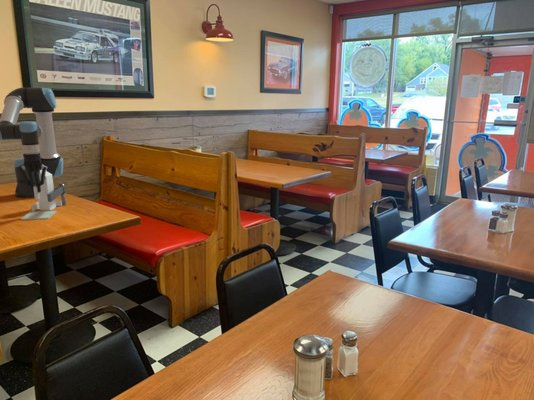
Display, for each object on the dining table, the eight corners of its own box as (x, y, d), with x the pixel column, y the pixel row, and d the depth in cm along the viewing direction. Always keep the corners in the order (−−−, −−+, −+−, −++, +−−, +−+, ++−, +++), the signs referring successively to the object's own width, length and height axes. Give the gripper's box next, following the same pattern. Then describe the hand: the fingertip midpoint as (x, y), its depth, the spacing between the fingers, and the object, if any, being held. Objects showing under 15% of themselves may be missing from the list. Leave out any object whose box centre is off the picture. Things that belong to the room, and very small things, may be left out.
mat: (30, 212, 218) (30, 211, 218) (56, 211, 220) (56, 210, 220) (20, 219, 206) (20, 218, 206) (48, 218, 208) (48, 217, 208)
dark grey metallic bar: (60, 192, 233) (59, 183, 232) (65, 192, 234) (64, 183, 233) (47, 202, 211) (45, 193, 210) (52, 202, 212) (51, 193, 210)
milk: (39, 210, 223) (33, 170, 217) (45, 207, 228) (40, 168, 223) (50, 210, 222) (45, 170, 217) (56, 207, 228) (51, 168, 223)
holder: (40, 205, 233) (39, 193, 231) (66, 204, 235) (65, 192, 233) (32, 211, 220) (30, 199, 218) (58, 210, 222) (57, 198, 221)
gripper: (14, 154, 201) (20, 200, 207) (42, 154, 203) (48, 200, 209) (20, 152, 208) (26, 197, 214) (48, 151, 210) (53, 196, 216)
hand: (37, 198), depth 212 cm, fingers closed
